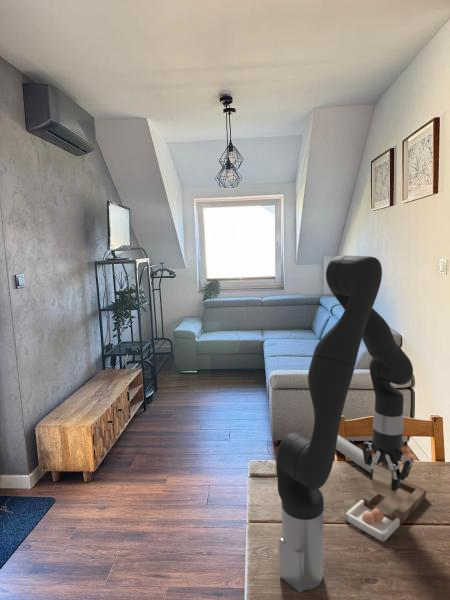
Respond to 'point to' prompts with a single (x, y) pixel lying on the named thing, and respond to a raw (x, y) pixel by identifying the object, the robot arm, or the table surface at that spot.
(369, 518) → the ball
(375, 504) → the slot board
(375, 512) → the ball
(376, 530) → the tray
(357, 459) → the tube
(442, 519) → the table surface
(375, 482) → the block
